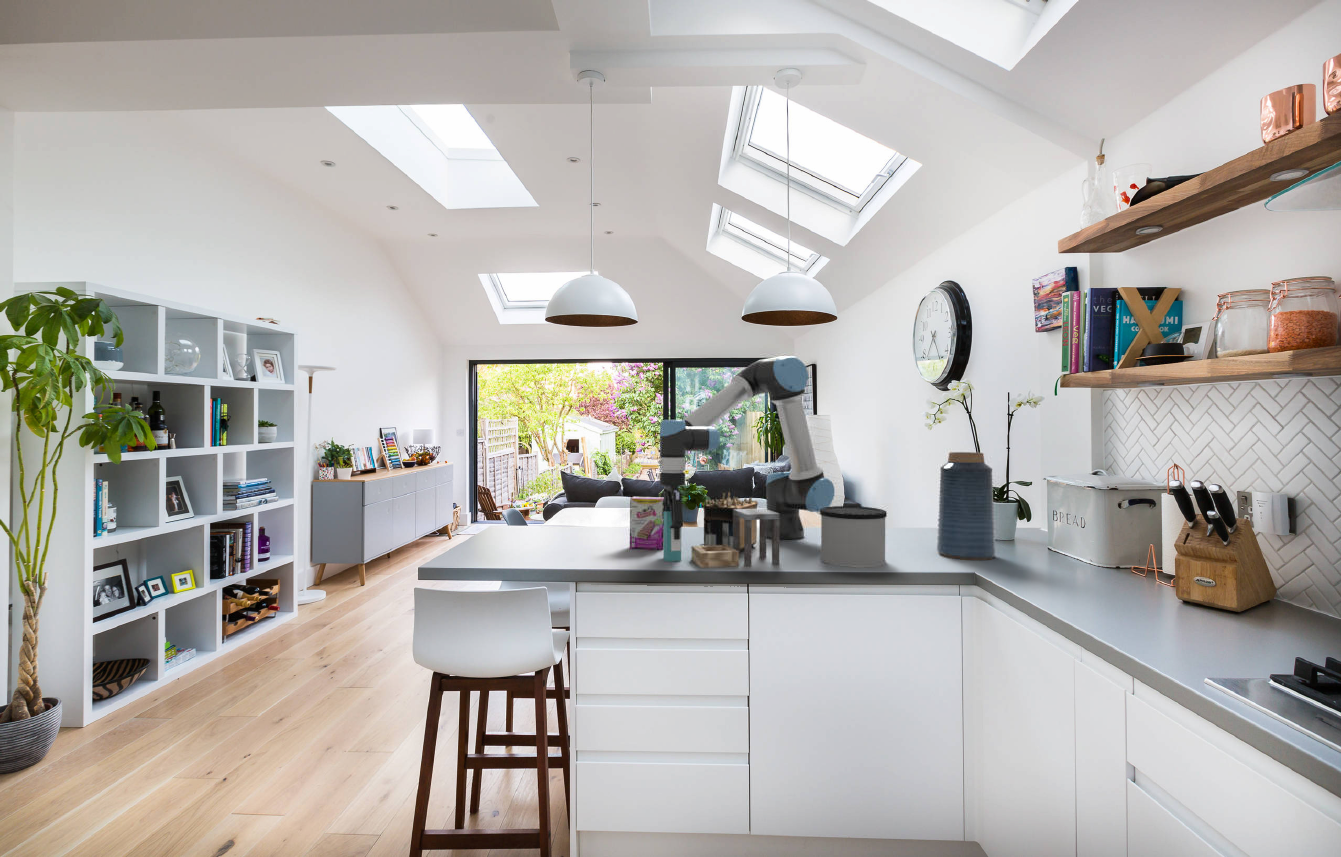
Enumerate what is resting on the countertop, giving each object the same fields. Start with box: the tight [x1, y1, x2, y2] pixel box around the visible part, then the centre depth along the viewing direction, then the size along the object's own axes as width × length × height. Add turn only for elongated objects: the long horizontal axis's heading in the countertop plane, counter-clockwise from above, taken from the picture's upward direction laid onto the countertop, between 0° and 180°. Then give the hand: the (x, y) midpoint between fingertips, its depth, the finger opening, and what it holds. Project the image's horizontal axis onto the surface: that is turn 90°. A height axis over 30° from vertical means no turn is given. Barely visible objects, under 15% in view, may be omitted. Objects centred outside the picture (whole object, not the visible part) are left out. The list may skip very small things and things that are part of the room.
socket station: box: [691, 508, 780, 568], centre depth 186 cm, size 23×12×14 cm, turn 102°
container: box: [819, 505, 888, 568], centre depth 188 cm, size 19×19×15 cm
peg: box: [663, 511, 682, 562], centre depth 189 cm, size 4×4×14 cm
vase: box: [936, 451, 996, 561], centre depth 196 cm, size 16×16×32 cm
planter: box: [699, 491, 759, 554], centre depth 206 cm, size 25×25×19 cm
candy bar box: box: [629, 496, 664, 550], centre depth 207 cm, size 11×5×16 cm, turn 84°
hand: (672, 547), depth 189 cm, fingers open, 9 cm apart
